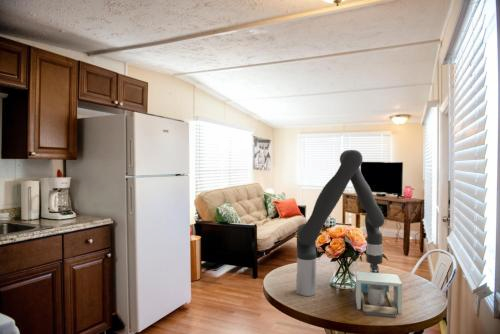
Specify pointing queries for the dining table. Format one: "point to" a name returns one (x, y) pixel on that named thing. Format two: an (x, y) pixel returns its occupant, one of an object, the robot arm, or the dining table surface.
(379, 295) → the cup
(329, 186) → the robot arm
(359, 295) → the tunnel
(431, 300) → the dining table surface
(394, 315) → the pit mat
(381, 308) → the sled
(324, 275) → the dining table surface
